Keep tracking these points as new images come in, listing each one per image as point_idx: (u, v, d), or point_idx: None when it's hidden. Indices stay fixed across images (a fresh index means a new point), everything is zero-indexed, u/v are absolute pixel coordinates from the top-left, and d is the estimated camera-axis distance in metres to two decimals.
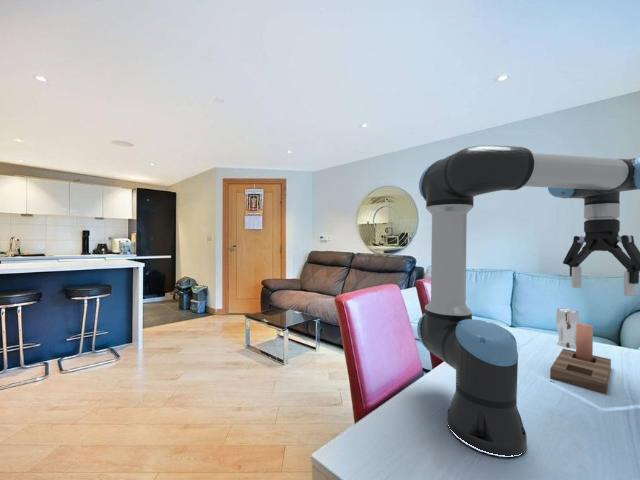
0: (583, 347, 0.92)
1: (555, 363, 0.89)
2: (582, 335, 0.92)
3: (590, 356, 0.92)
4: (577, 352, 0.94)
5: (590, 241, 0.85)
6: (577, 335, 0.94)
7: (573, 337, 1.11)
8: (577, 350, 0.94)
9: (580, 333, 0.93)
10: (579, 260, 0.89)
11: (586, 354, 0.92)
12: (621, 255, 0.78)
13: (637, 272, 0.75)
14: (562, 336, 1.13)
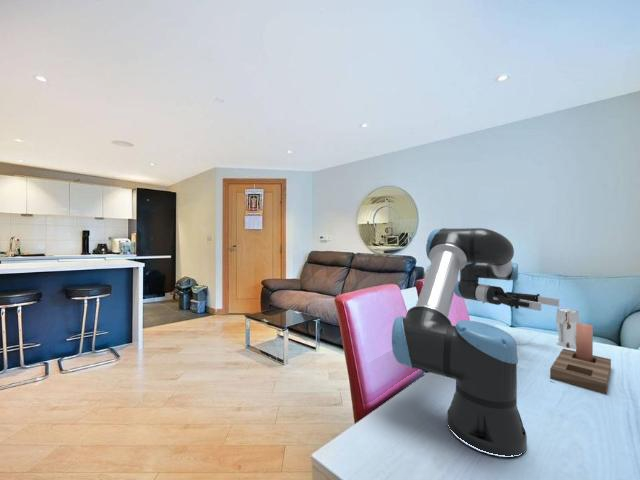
0: (583, 347, 0.92)
1: (555, 363, 0.89)
2: (582, 335, 0.92)
3: (590, 356, 0.92)
4: (577, 352, 0.94)
5: (504, 292, 1.14)
6: (577, 335, 0.94)
7: (573, 337, 1.11)
8: (577, 350, 0.94)
9: (580, 333, 0.93)
10: None
11: (586, 354, 0.92)
12: None
13: None
14: (562, 336, 1.13)
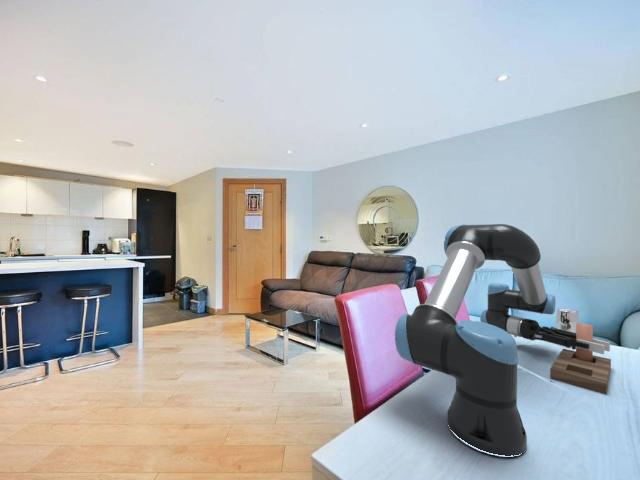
0: None
1: (555, 363, 0.89)
2: (582, 335, 0.92)
3: (590, 356, 0.92)
4: (577, 352, 0.94)
5: (542, 328, 1.03)
6: (577, 335, 0.94)
7: None
8: (577, 350, 0.94)
9: (580, 333, 0.93)
10: None
11: (586, 354, 0.92)
12: None
13: None
14: None
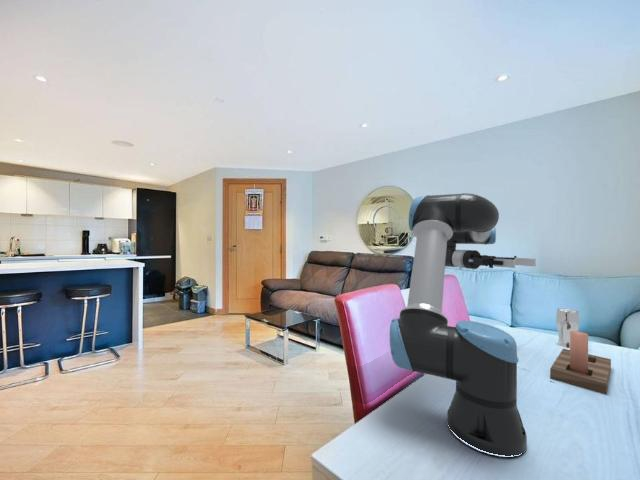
0: (578, 358, 0.83)
1: (555, 363, 0.89)
2: (577, 345, 0.84)
3: (585, 368, 0.83)
4: (571, 363, 0.85)
5: (480, 255, 1.09)
6: (571, 345, 0.85)
7: None
8: (571, 361, 0.85)
9: (574, 343, 0.84)
10: None
11: (581, 365, 0.83)
12: None
13: None
14: (562, 336, 1.13)
